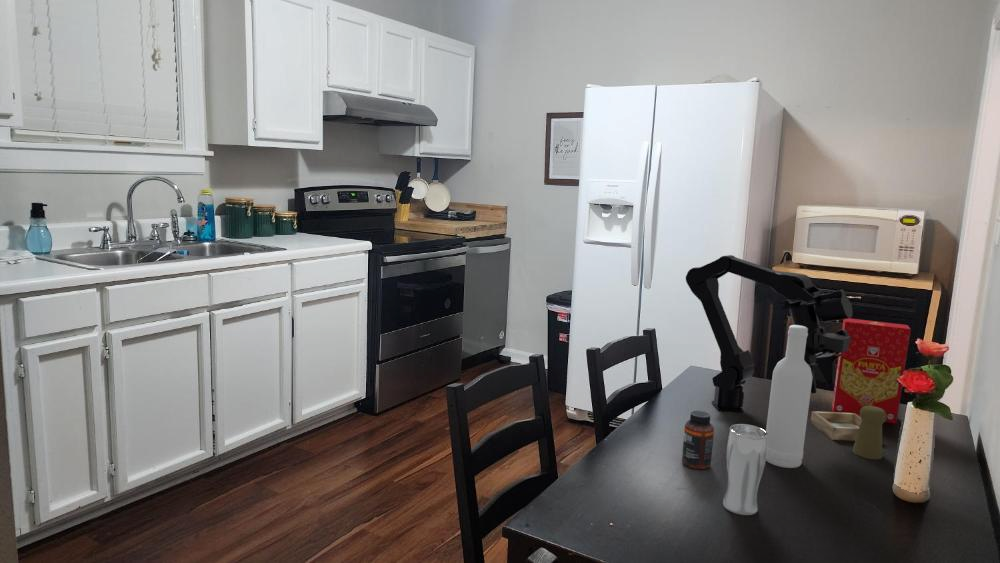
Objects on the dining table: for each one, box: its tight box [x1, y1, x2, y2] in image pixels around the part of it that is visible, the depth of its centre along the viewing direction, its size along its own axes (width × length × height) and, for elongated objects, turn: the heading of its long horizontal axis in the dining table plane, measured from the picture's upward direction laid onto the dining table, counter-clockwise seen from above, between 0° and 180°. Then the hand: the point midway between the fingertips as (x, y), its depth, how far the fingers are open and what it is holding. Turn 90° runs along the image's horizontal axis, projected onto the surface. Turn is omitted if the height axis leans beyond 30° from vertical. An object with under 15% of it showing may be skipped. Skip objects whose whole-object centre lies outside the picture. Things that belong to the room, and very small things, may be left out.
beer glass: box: [722, 423, 768, 516], centre depth 124 cm, size 7×7×15 cm
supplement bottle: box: [681, 410, 715, 470], centre depth 142 cm, size 6×6×11 cm
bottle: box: [765, 324, 813, 469], centre depth 144 cm, size 8×8×30 cm
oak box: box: [810, 410, 862, 442], centre depth 165 cm, size 11×11×3 cm
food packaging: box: [831, 318, 912, 424], centre depth 176 cm, size 15×5×25 cm, turn 67°
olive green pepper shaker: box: [852, 406, 886, 460], centre depth 152 cm, size 6×6×11 cm
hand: (822, 389), depth 161 cm, fingers open, 9 cm apart
